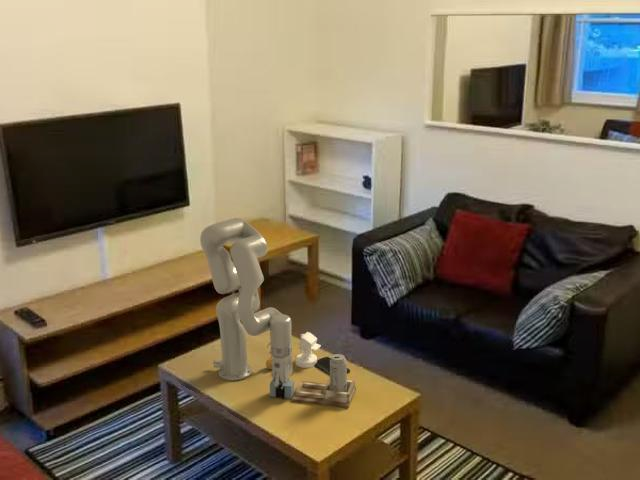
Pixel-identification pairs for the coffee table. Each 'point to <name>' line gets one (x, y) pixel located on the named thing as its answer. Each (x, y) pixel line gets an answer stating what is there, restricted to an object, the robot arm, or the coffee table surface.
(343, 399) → the jig
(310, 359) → the character figurine
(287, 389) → the wing block
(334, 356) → the energy drink can
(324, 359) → the phone
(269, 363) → the figurine
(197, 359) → the coffee table surface
